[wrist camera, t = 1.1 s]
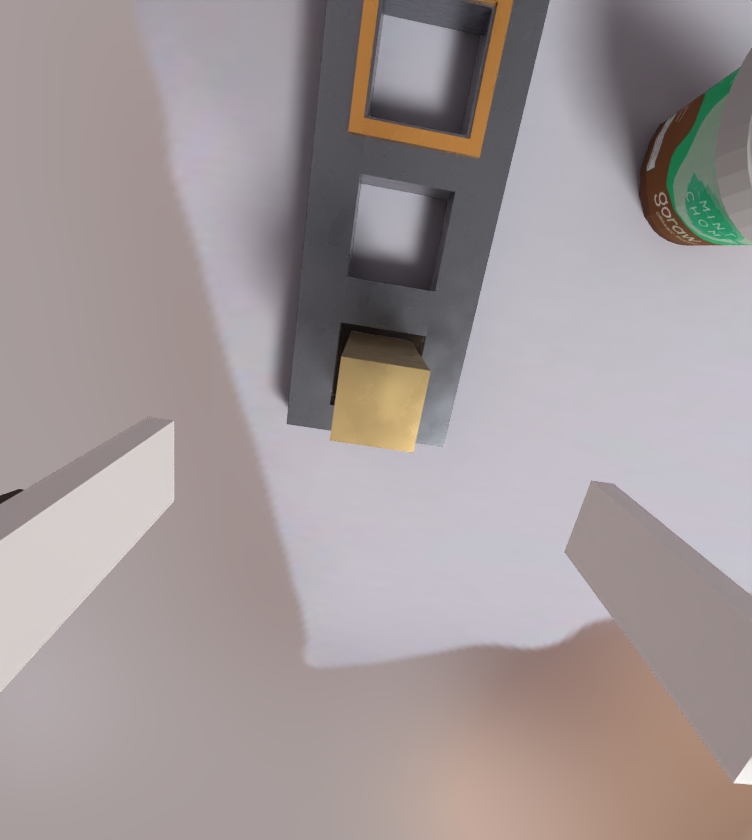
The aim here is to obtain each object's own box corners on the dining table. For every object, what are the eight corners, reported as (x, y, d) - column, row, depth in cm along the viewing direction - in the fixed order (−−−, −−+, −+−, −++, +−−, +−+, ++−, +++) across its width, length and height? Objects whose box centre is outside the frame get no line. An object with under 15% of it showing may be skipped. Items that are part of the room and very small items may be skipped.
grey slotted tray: (338, -41, 23) (334, -82, 20) (537, 4, 24) (557, -31, 21) (292, 413, 32) (286, 424, 29) (438, 435, 33) (443, 448, 30)
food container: (581, 203, 27) (694, 161, 18) (643, 110, 25) (805, 8, 16) (710, 296, 29) (872, 303, 20) (775, 216, 28) (986, 182, 18)
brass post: (351, 330, 30) (341, 356, 19) (410, 340, 30) (430, 370, 20) (343, 387, 31) (329, 440, 21) (399, 396, 31) (413, 452, 21)
